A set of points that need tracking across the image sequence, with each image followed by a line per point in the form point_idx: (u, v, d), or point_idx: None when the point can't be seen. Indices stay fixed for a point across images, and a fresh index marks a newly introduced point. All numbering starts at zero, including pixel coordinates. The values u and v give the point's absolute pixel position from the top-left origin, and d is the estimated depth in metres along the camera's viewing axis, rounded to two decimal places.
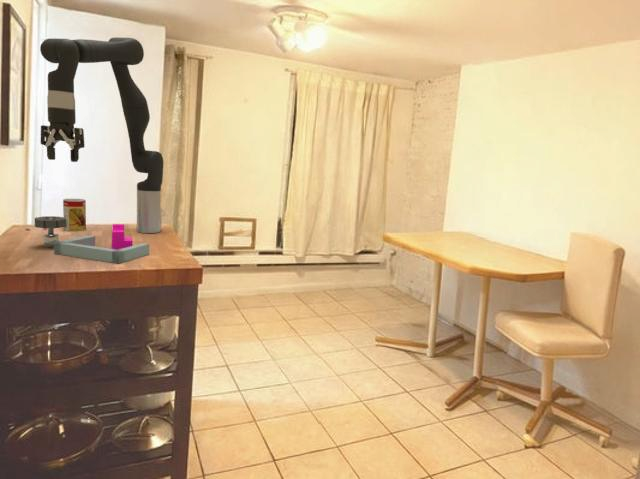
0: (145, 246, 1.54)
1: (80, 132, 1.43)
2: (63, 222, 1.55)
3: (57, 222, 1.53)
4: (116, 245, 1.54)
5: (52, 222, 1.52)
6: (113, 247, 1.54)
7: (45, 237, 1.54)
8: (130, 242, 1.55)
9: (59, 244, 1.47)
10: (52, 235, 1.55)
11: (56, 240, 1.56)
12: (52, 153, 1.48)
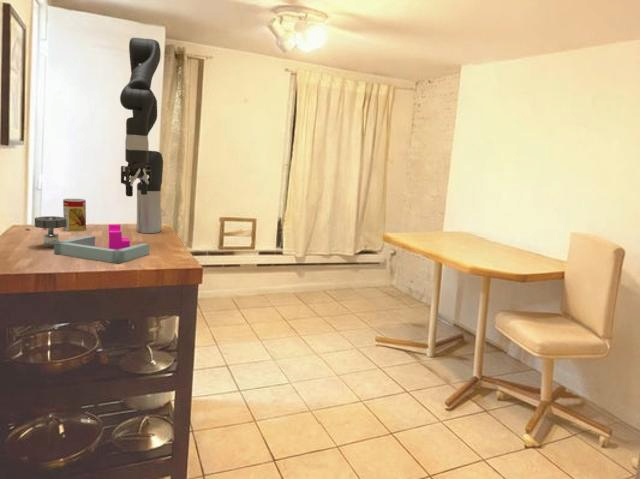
0: (145, 246, 1.54)
1: None
2: (63, 222, 1.55)
3: (57, 222, 1.53)
4: (113, 245, 1.53)
5: (52, 222, 1.52)
6: (110, 247, 1.53)
7: (45, 237, 1.54)
8: (127, 242, 1.55)
9: (59, 244, 1.47)
10: (52, 235, 1.55)
11: (56, 240, 1.56)
12: None
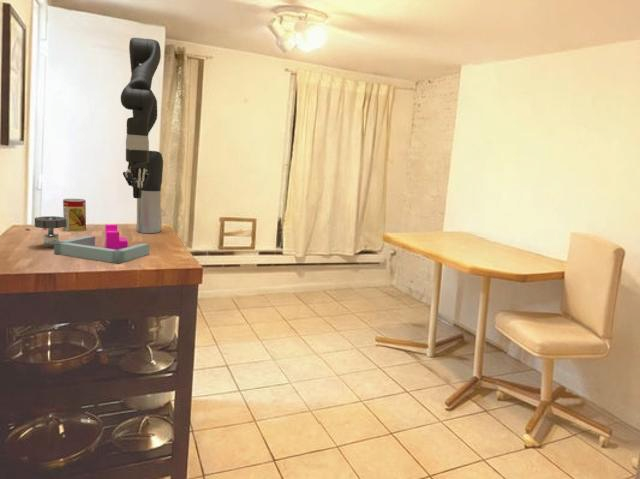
0: (145, 246, 1.54)
1: None
2: (63, 222, 1.55)
3: (57, 222, 1.53)
4: (111, 246, 1.53)
5: (52, 222, 1.52)
6: (108, 248, 1.52)
7: (45, 237, 1.54)
8: (125, 242, 1.54)
9: (59, 244, 1.47)
10: (52, 235, 1.55)
11: (56, 240, 1.56)
12: None
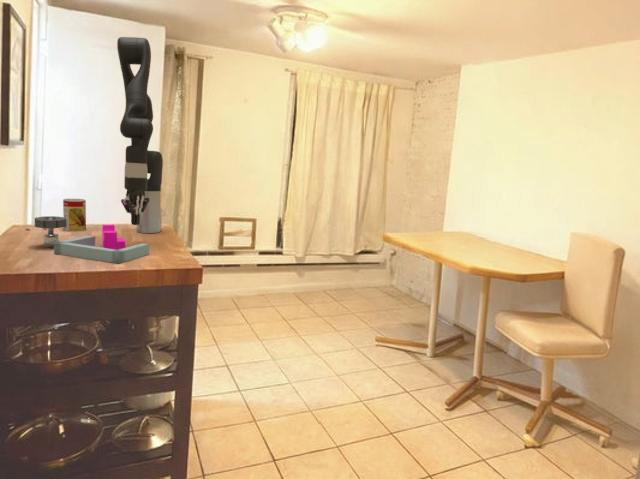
0: (145, 246, 1.54)
1: None
2: (63, 222, 1.55)
3: (57, 222, 1.53)
4: (109, 246, 1.52)
5: (52, 222, 1.52)
6: None
7: (45, 237, 1.54)
8: (123, 243, 1.54)
9: (59, 244, 1.47)
10: (52, 235, 1.55)
11: (56, 240, 1.56)
12: None
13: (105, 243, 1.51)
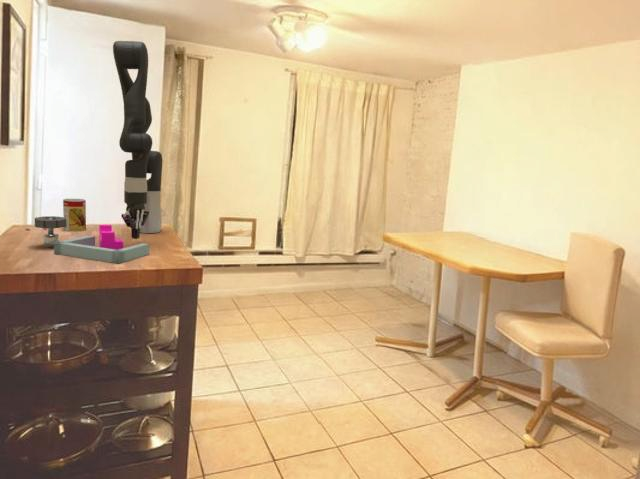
0: (145, 246, 1.54)
1: None
2: (63, 222, 1.55)
3: (57, 222, 1.53)
4: (106, 246, 1.51)
5: (52, 222, 1.52)
6: None
7: (45, 237, 1.54)
8: (121, 243, 1.53)
9: (59, 244, 1.47)
10: (52, 235, 1.55)
11: (56, 240, 1.56)
12: None
13: (103, 243, 1.51)
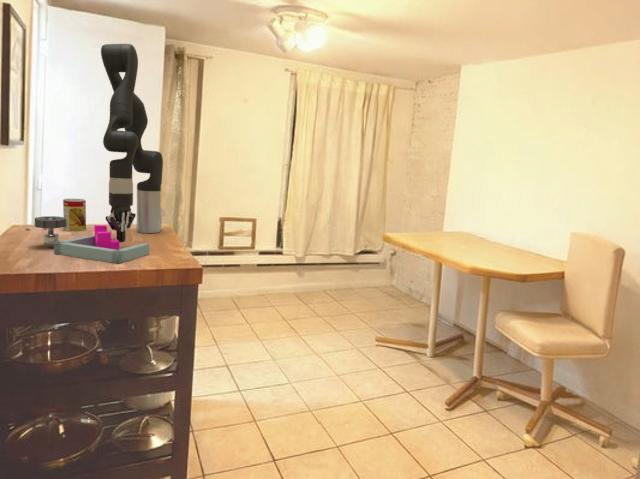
0: (145, 246, 1.54)
1: None
2: (63, 222, 1.55)
3: (57, 222, 1.53)
4: (103, 247, 1.50)
5: (52, 222, 1.52)
6: None
7: (45, 237, 1.54)
8: (117, 243, 1.52)
9: (59, 244, 1.47)
10: (52, 235, 1.55)
11: (56, 240, 1.56)
12: None
13: (99, 244, 1.50)
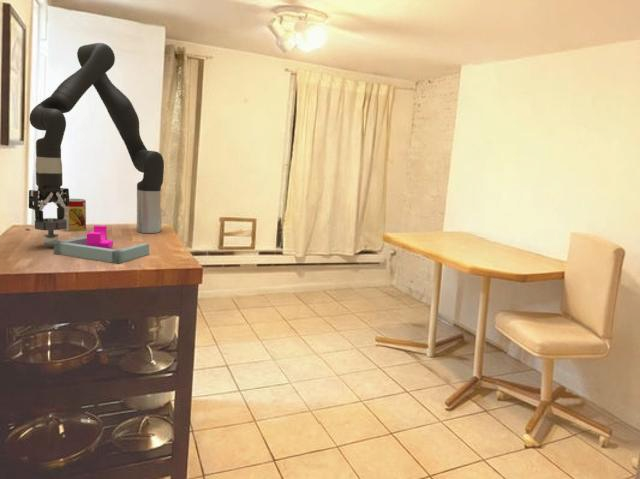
0: (145, 246, 1.54)
1: None
2: (63, 224, 1.55)
3: (57, 224, 1.53)
4: None
5: (52, 224, 1.52)
6: None
7: (45, 237, 1.54)
8: (106, 244, 1.49)
9: (59, 244, 1.47)
10: (52, 235, 1.55)
11: (56, 240, 1.56)
12: None
13: (87, 244, 1.48)
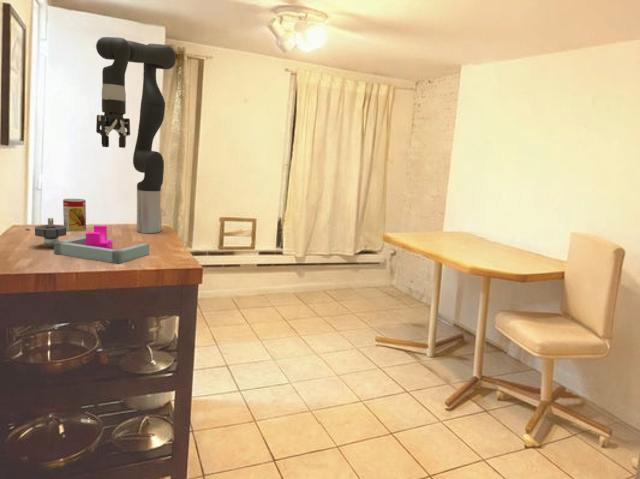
0: (145, 246, 1.54)
1: None
2: (63, 231, 1.55)
3: (57, 231, 1.53)
4: None
5: (52, 231, 1.52)
6: None
7: (45, 237, 1.54)
8: (105, 244, 1.49)
9: (59, 244, 1.47)
10: None
11: (56, 240, 1.56)
12: None
13: (87, 244, 1.48)
